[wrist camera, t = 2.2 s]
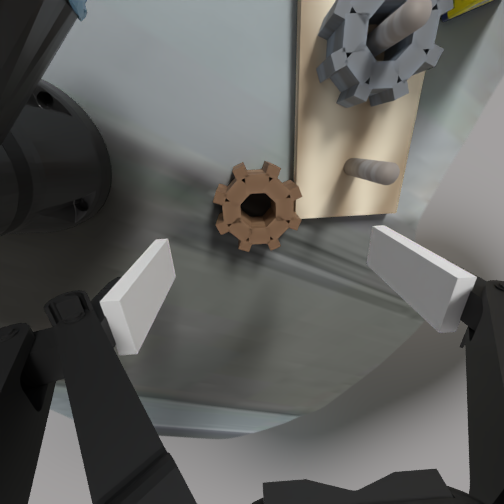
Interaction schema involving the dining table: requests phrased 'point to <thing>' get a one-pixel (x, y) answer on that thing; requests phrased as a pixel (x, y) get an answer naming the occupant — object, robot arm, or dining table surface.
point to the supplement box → (463, 8)
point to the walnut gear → (257, 226)
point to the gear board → (358, 100)
